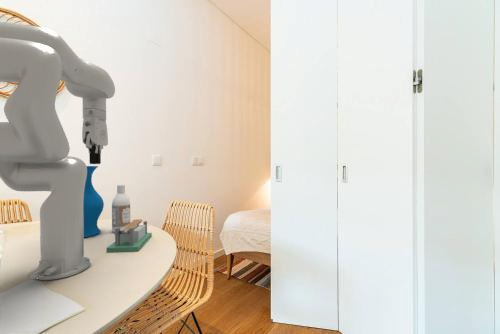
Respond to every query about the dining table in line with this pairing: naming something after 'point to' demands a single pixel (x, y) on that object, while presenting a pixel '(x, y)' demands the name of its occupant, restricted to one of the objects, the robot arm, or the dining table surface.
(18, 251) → the dining table surface
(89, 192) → the vase
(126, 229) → the tan wooden bar
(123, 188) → the bath foam
